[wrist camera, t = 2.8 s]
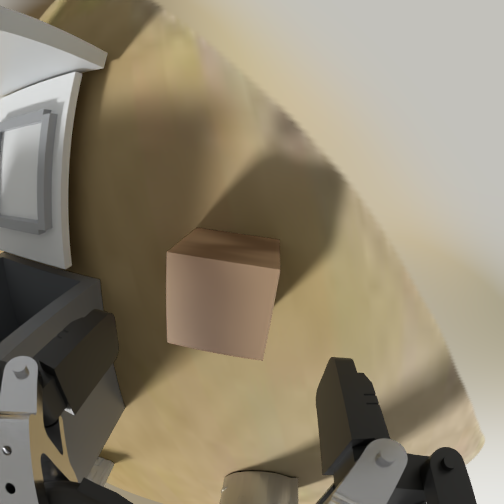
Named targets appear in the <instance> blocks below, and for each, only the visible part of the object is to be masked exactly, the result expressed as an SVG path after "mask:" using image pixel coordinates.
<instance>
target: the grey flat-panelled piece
mask: <svg viewBox="0 0 504 504" xmlns="http://www.w3.org/2000/svg"><path fill="white" fill-rule="evenodd" d="M107 54H108V53H107V52H105V51H103V50H101V49H99V48H98V47H96V46H94V45H92V44H90V43H88V42H86V41H84V40H82V39H80V38H78V37H76V36H74V35H72V34H70V33H68V32H65V31H63V30H61V29H59V28H57V27H54V26H52V25H50V24H48V23H45V22H43V21H40V20H38V19H35V18H33V17H30V16H28V15H25V14H22V13H20V12H17V11H14V10H11V9H8V8H5V7H2V6H0V250H2V251H5V252H8V253H11V254H14V255H18V256H21V257H24V258H27V259H31V260H34V261H37V262H41V263H44V264H48V265H51V266H55V267H58V268H62V269H67V268H69V267H70V266H72V262H71V252H70V239H69V217H68V183H69V162H70V149H71V139H72V130H73V123H74V116H75V109H76V103H77V98H78V93H79V88H80V83H81V78H82V74H81V73H84V72H88V71H93V70H97V69H102V68H104V66H105V62H106V58H107Z"/></svg>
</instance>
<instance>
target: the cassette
mask: <svg viewBox="0 0 504 504" xmlns="http://www.w3.org/2000/svg"><path fill="white" fill-rule="evenodd" d="M113 466H114V463H113V462H112V461H110V460H106V459H104V458H101V457H98V458H97V460H96V462H95V464H94V466H93V468H92V469H91V471H90V473H89V475H88V477H87V479H88V480H90V481H92V482H94V483H96V484H98V485H101V486H103V487H104V485H105V483H106V481H107V478H108V476H109V474H110V472H111V470H112V468H113Z"/></svg>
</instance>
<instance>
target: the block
mask: <svg viewBox="0 0 504 504" xmlns="http://www.w3.org/2000/svg"><path fill="white" fill-rule="evenodd" d="M279 275H280V245H279V240H278V239H272V238H265V237H258V236H252V235H245V234H238V233H231V232H224V231H217V230H210V229H203V228H196V229H194V230H193V231H192V232H191V233H189V234H188V235H187V236H186V237H184V238H183V239H182V240H181V241H179V242H178V243H177V244H176V245H174V246H173V247H172V248H171V249H170V250H168V251H167V260H166V319H167V343H171V344H175V345H180V346H184V347H189V348H193V349H198V350H203V351H208V352H213V353H218V354H224V355H230V356H235V357H242V358H248V359H255V360H262V361H263V357H264V352H265V348H266V343H267V338H268V333H269V328H270V323H271V318H272V312H273V307H274V302H275V297H276V291H277V286H278V281H279Z"/></svg>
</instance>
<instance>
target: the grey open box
mask: <svg viewBox="0 0 504 504" xmlns="http://www.w3.org/2000/svg"><path fill="white" fill-rule="evenodd" d="M93 309H99V310H102V311H104V310H103V303H102V295H101V286H100V279H96V278H92V277H88V276H84V275H80V274H76V273H72V272H69V271H65V270H61V269H58V268H54V267H51V266H47V265H44V264H40V263H37V262H34V261H30V260H27V259H24V258H21V257H18V256H14V255H11V254H8V253H5V252H3V253H1V254H0V360H1V361H5V362H9V361H10V360H11V359H13V358H15V357H18V356H28V357H31V358H33V357H34V356H35V355H36V354H37V353H38V352H39V351H40V350H41V349H42V348H43V347H44V346H45V345H46V344H48V343H49V342H50V341H51V340H52V339H53V338H54V337H56V336H57V334H58V333H59V332H61V331H63V329H64V328H65V327H66V326H67V325H68V324H70V323H71V322H72V321H75V320H77V319H79V318H81V317H83V318H84V317H85V316H86V315H87V314H89V313H90V312H91V311H92V310H93ZM124 409H125V406H124V403H123V399H122V396H121V392H120V389H119V385H118V381H117V377H116V373H115V369H114V364H112V365H111V366H110V368H109V369H108V370H107V372H106V373H105V374H104V376H103V377H102V379H101V380H100V381H99V383H98V384H97V385H96V387H95V388H94V389H93V391H92V392H91V394H90V395H89V396H88V398H87V399H86V401H85V402H84V403H83V405H82V406H81V408H80V409H79V410H78V412H77V413H76V415H73V414H71V413H69V412H67V411H65V410H64V411H63V412H62V414H61V416H62V419H63V427H64V435H65V441H66V447H67V453H68V458H69V462H70V464H71V466H72V468H73V470H74V472H75V475H76V478H77V480H78V483H81V481H82V480H83V478H84V477H85V478H87V477H88V475H89V473H90V471H91V469H92V468H93V466H94V464H95V462H96V460H97V458H98V456H99V454H100V453H101V451H102V449H103V447H104V445H105V443H106V441H107V440H108V438H109V436H110V434H111V432H112V431H113V429H114V427H115V425H116V423H117V422H118V420H119V418H120V416H121V414H122V413H123V411H124Z"/></svg>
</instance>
